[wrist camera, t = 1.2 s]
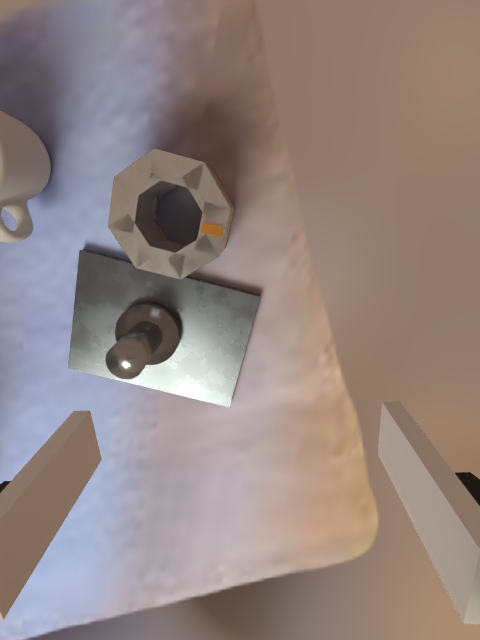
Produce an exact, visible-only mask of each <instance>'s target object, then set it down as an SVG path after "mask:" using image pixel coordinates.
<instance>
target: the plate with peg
mask: <svg viewBox="0 0 480 640" xmlns="http://www.w3.org/2000/svg"><path fill="white" fill-rule="evenodd" d="M259 301H260V295H258V294H255V293H251V292H247V291H243V290H239V289H235V288H231V287H227V286H224V285H220V284H216V283H212V282H208V281H204V280H200V279H197V278H193V277H189V276H186V277H184V278H182V279H177V278H173V277H169V276H165V275H161V274H157V273H153V272H150V271H146V270H142V269H138V268H136V267H135V266H134V264H133V263H132V262H131V261H127V260H123V259H119V258H115V257H112V256H108V255H104V254H100V253H96V252H92V251H88V250H85V249H83V250H80V252H79V262H78V273H77V283H76V293H75V304H74V314H73V324H72V334H71V345H70V355H69V365H68V368H70V369H74V370H78V371H82V372H87V373H91V374H95V375H99V376H103V377H107V378H111V379H115V380H119V381H124V382H128V383H132V384H136V385H140V386H144V387H148V388H152V389H156V390H161V391H165V392H169V393H173V394H177V395H181V396H185V397H189V398H193V399H198V400H202V401H206V402H210V403H214V404H218V405H222V406H226V407H229V406H230V403H231V399H232V396H233V392H234V389H235V385H236V381H237V378H238V374H239V371H240V367H241V364H242V360H243V357H244V353H245V350H246V346H247V343H248V339H249V336H250V332H251V329H252V325H253V322H254V318H255V315H256V311H257V308H258V304H259Z"/></svg>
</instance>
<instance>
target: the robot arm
mask: <svg viewBox="0 0 480 640" xmlns="http://www.w3.org/2000/svg"><path fill="white" fill-rule="evenodd" d="M378 455H379V457H380V459H381V461H382V463H383V465H384V467H385V469H386V471H387V473H388V475H389V477H390V479H391V481H392V483H393V485H394V487H395V489H396V491H397V493H398V495H399V497H400V499H401V501H402V503H403V505H404V507H405V509H406V511H407V513H408V515H409V517H410V519H411V520H412V522H413V524H414V527H415V529H416V531H417V533H418V535H419V537H420V538H421V540H422V542H423V544H424V546H425V548H426V550H427V552H428V554H429V556H430V558H431V560H432V562H433V564H434V566H435V568H436V570H437V572H438V574H439V576H440V578H441V580H442V582H443V584H444V586H445V588H446V590H447V592H448V594H449V596H450V598H451V600H452V602H453V604H454V606H455V608H456V610H457V612H458V614H459V616H460V618H461V620H462V622H463V624H480V479H478V478H477V477H476V476H474V475H473V474H471V473H470V472H468V473H465V472H463V473H454V472H453V471H452V469H451V468H450V467H449V465H448V464H447V462H446V461H445V460H444V458H443V457H442V456H441V455H440V453H439V452H438V451H437V449H436V448H435V447H434V445H433V444H432V443H431V441H430V440H429V439H428V438H427V436H426V435H425V433H424V432H423V431H422V430H421V428H420V427H419V426H418V424H417V423H416V422H415V420H414V419H413V418H412V416H411V415H410V414H409V412H408V411H407V410H406V409H405V407H404V406H403V405H402V403H401V402H400V401H398V402H382V411H381V423H380V435H379V447H378ZM101 460H102V459H101V455H100V451H99V447H98V442H97V438H96V434H95V429H94V425H93V421H92V417H91V412H90V411H74V412H73V413H72V414H71V415H70V416H69V417H68V418H67V419H66V421H65V422H64V423H63V424H62V425H61V426H60V427H59V428H58V429H57V431H56V432H55V433H54V434H53V435H52V436H51V437H50V438H49V439H48V441H47V442H46V443H45V444H44V445H43V446H42V447H41V448H40V450H39V451H38V452H37V453H36V454H35V455H34V456H33V457H32V458H31V460H30V461H29V462H28V463H27V464H26V465H25V466H24V467H23V468H22V470H21V471H20V472H19V473H18V474H17V475H16V476H15V477H14V478H13V480H12V481H4V482H3V483H1V484H0V620H4V618H5V616H6V615H7V613H8V612H9V610H10V608H11V607H12V605H13V603H14V602H15V600H16V598H17V597H18V595H19V594H20V592H21V590H22V589H23V587H24V585H25V584H26V582H27V581H28V579H29V577H30V576H31V574H32V572H33V571H34V569H35V567H36V566H37V564H38V563H39V561H40V559H41V558H42V556H43V554H44V553H45V551H46V550H47V548H48V546H49V545H50V543H51V541H52V540H53V538H54V536H55V535H56V533H57V532H58V530H59V528H60V527H61V525H62V523H63V522H64V520H65V519H66V517H67V515H68V514H69V512H70V510H71V509H72V507H73V505H74V504H75V502H76V501H77V499H78V497H79V496H80V494H81V492H82V491H83V489H84V488H85V486H86V484H87V483H88V481H89V479H90V478H91V476H92V474H93V473H94V471H95V470H96V468H97V466H98V465H99V463H100V461H101Z"/></svg>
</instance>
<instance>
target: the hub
mask: <svg viewBox="0 0 480 640" xmlns="http://www.w3.org/2000/svg"><path fill="white" fill-rule="evenodd" d="M177 186H181V187H184V188H188V189H189V191H190V192H191V194H192V196H193V197H194V199H195V201H196V202H197V204H198V206H199V207H200V209H201V211H202V212H203V213H202V218H201V223H200V228H199V232H198V237H197V240H195V241H194V242H192V243H190V244H189V245H186V244H182V243H178V242H175V241H171V240H168V239H167V237H166V235H165V234H164V232H163V231H162V229H161V228H160V226H159V224H158V223H157V221H156V218H157V212H158V206H159V199H160V198H161V197H162V196H164V195H165V194H167V193H168V192H170V191H171V190H173V189H174V188H176V187H177ZM234 210H235V208H234V206H233V205H232V203H231V201H230V199H229V198H228V196H227V194H226V192H225V190H224V189H223V187H222V185H221V183H220V182H219V180H218V178H217V176H216V175H215V173H214V171H213V170H212V169H211V168H210V167H209V166H208V165H207V164H206V163H205V162H202V161H198V160H195V159H191V158H187V157H184V156H180V155H176V154H173V153H169V152H165V151H162V150H158V149H155V148H154V149H153V150H151V151H150V152H149V153H147V154H146V155H144V156H143V157H142V158H140V159H139V160H137V161H136V162H134V163H133V164H132V165H130V166H129V167H127V168H126V169H125V170H123V171H122V172H120V173H119V174H118V175H116V176H115V177H114V181H113V189H112V198H111V206H110V214H109V222H108V228H109V229H110V231H111V232H112V234H113V235H114V237H115V238H116V240H117V241H118V242H119V244H120V245H121V247H122V248H123V250H124V251H125V253H126V254H127V256H128V257H129V259H130V260H131V262H132V263H133V264H134V266H135V267H136V268H138V269H142V270H146V271H150V272H153V273H157V274H161V275H165V276H169V277H173V278H177V279H182V278H184V277H186V276H187V275H189V274H191V273H192V272H194V271H196V270H197V269H199V268H201V267H202V266H204V265H206V264H207V263H209V262H211V261H212V260H214V259H216V258H217V257H219V256H220V255H221V253H222V252H223V251H224V249H225V248H226V243H227V239H228V235H229V231H230V227H231V222H232V218H233V214H234Z"/></svg>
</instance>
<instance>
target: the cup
mask: <svg viewBox="0 0 480 640" xmlns="http://www.w3.org/2000/svg"><path fill="white" fill-rule="evenodd" d="M50 171H51V165H50V159H49V155H48V152H47V150H46V148H45V146H44V144H43V142H42V141H41V139H40V138H39V137H38V136H37V135H36V134H35V132H34V131H32V130H31V129H30V128H29V127H28V126H26V125H25V124H23V123H22V122H20V121H19V120H17V119H15V118H13V117H12V116H10V115H8V114H6V113H4V112H3V111H1V110H0V241H2V242H17V241H21V240H24V239H26V238H27V237H29V236H30V234H31V233H32V231H33V223H32V219H31V216H30V213H29V211H28V208H27V204H26V202H27V200H28V199H31V198H33V197H35V196H37V195H38V194H39V193H41V192H42V191H43V189H44V188H45V187H46V185H47V183H48V181H49V177H50ZM2 209H5V210H8V211H9V212H10V213H11V214H12V215H13V217H14V218H15V220H16V223H17V229H16V230H15V231H14V232H13V231H11V230H9V229H8V228H7V227H6V226H5V224H4V222H3V220H2V217H1V210H2Z"/></svg>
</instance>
